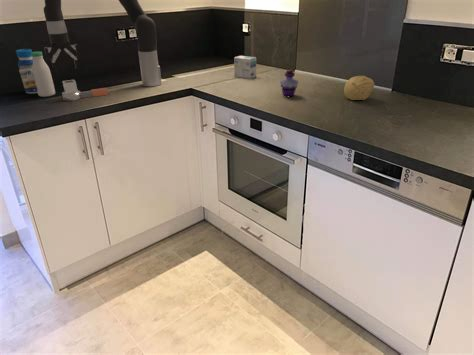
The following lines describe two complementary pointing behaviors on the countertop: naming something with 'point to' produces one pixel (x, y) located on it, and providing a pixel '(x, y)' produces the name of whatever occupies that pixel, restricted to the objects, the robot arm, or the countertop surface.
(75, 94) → the ratchet
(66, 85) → the socket
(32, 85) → the beverage bottle
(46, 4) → the robot arm
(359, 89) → the tan lumpy round lump
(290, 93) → the potion bottle
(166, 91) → the countertop surface
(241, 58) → the light bulb box
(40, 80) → the milk bottle
